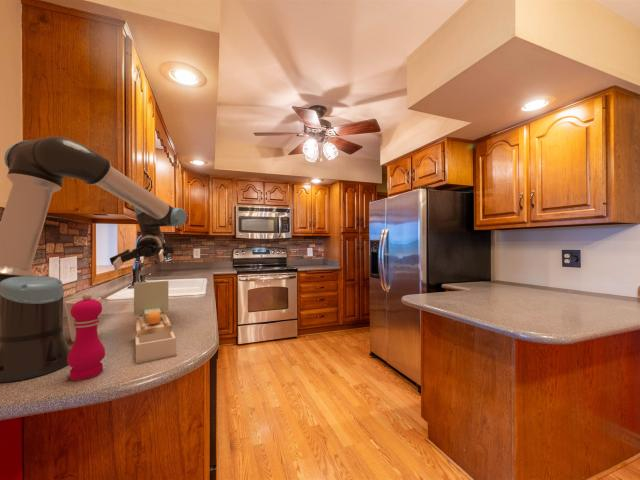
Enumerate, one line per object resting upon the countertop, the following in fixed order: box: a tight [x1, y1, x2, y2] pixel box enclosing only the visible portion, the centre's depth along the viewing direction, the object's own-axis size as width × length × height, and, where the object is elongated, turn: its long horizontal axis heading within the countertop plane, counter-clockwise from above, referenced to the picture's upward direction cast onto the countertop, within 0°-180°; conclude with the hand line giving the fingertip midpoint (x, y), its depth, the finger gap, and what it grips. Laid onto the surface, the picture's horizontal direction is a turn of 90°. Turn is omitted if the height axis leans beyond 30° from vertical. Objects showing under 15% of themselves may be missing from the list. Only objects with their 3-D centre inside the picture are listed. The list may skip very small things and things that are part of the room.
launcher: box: [135, 312, 173, 336], centre depth 91 cm, size 9×17×8 cm, turn 34°
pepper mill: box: [67, 292, 106, 381], centre depth 70 cm, size 7×7×20 cm
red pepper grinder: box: [64, 297, 103, 343], centre depth 96 cm, size 10×9×13 cm
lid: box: [133, 280, 169, 323], centre depth 93 cm, size 10×8×12 cm
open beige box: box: [134, 329, 177, 365], centre depth 82 cm, size 10×10×5 cm
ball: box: [146, 311, 161, 325], centre depth 88 cm, size 4×4×4 cm
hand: (138, 262), depth 96 cm, fingers open, 13 cm apart
